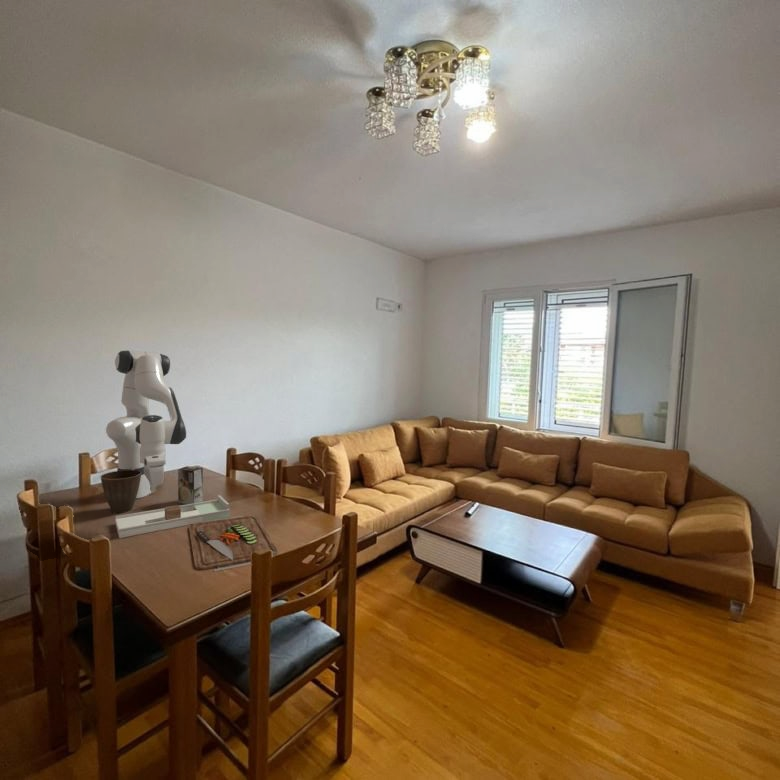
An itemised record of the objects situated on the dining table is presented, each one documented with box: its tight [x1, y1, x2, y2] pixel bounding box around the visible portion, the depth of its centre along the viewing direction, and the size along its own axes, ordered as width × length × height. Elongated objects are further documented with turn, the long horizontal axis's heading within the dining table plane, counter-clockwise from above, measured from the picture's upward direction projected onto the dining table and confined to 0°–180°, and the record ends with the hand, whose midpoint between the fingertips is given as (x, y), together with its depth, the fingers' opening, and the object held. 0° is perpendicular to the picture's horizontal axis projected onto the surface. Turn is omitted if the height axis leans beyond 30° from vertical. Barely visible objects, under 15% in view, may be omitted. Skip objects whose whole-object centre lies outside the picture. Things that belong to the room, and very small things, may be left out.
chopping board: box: [188, 515, 279, 573], centre depth 157 cm, size 45×27×3 cm, turn 29°
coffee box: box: [177, 466, 204, 505], centre depth 196 cm, size 9×6×16 cm
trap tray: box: [115, 494, 231, 539], centre depth 173 cm, size 16×40×5 cm, turn 128°
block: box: [164, 504, 181, 520], centre depth 170 cm, size 5×5×4 cm
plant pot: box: [100, 470, 141, 514], centre depth 182 cm, size 15×15×16 cm
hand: (153, 491), depth 165 cm, fingers closed
